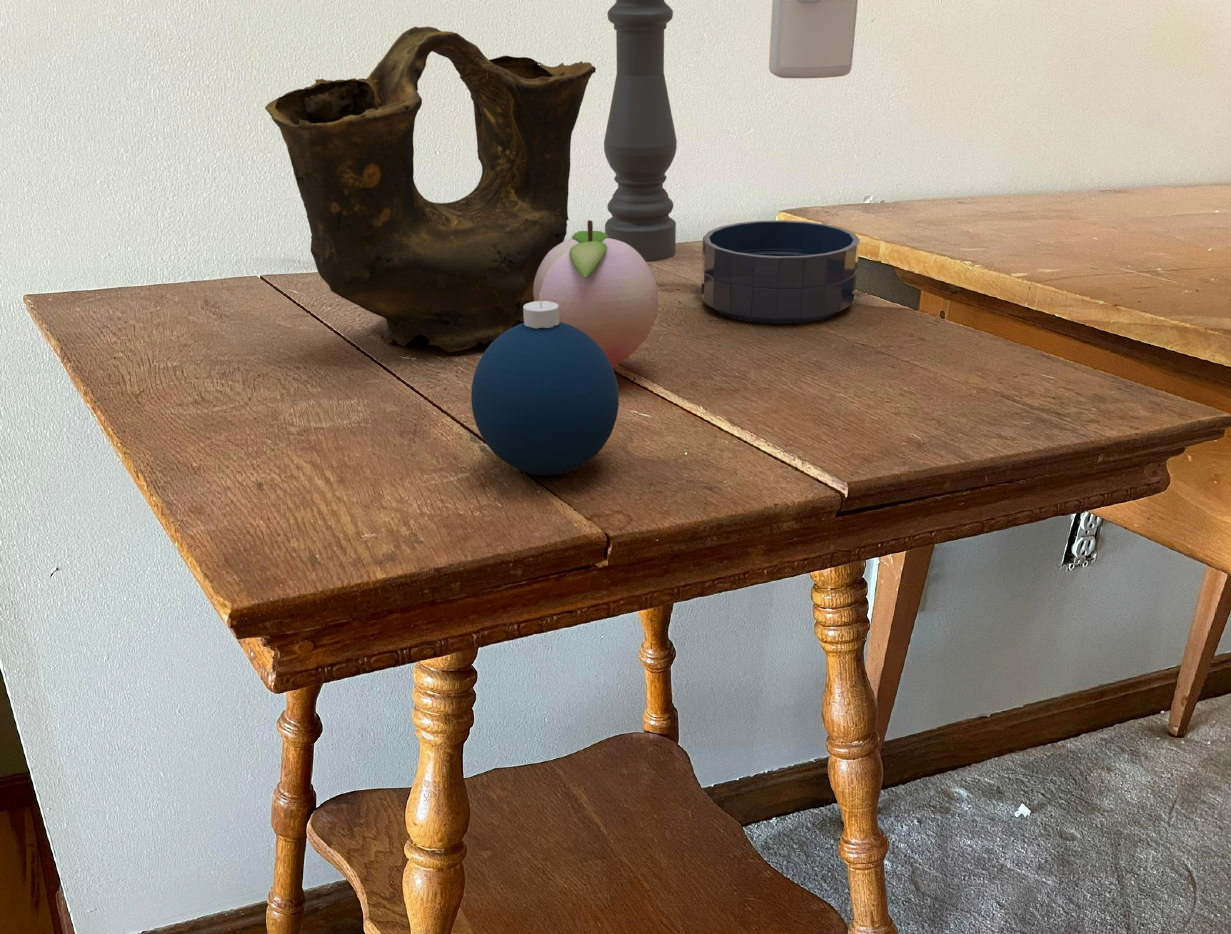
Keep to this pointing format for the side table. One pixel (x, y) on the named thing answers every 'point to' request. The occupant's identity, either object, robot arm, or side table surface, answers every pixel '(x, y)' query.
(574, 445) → the christmas ornament
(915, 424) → the side table surface
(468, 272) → the pottery vessel
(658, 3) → the candle holder
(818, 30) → the eye dropper bottle
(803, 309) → the bowl
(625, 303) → the decorative fruit
